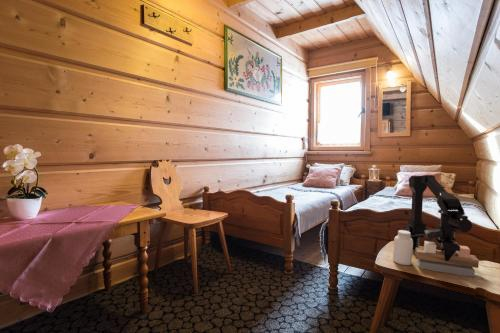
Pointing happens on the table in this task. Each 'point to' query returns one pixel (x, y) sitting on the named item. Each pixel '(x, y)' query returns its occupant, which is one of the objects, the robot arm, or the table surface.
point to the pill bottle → (403, 248)
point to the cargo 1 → (430, 247)
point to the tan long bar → (440, 257)
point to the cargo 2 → (463, 252)
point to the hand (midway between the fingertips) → (445, 258)
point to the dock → (446, 268)
